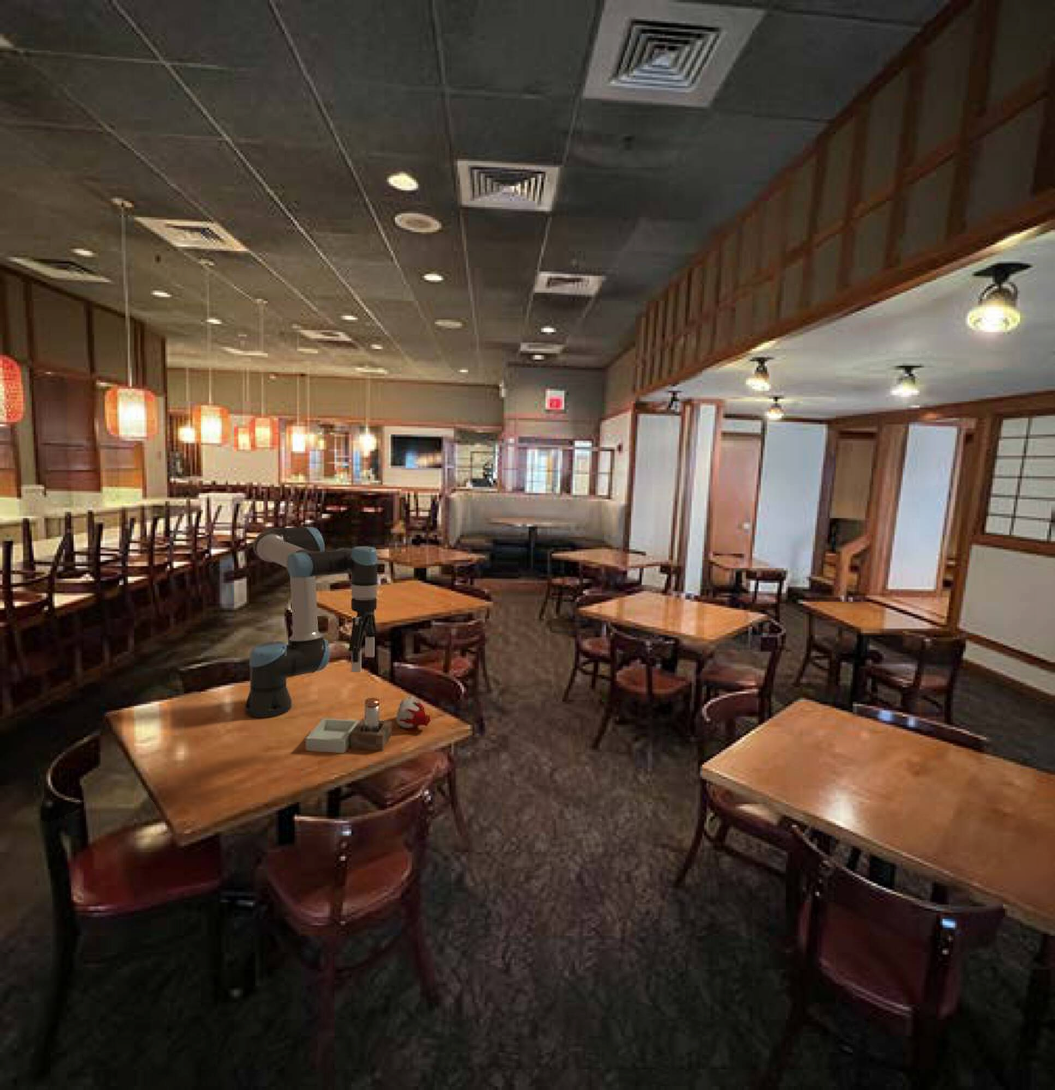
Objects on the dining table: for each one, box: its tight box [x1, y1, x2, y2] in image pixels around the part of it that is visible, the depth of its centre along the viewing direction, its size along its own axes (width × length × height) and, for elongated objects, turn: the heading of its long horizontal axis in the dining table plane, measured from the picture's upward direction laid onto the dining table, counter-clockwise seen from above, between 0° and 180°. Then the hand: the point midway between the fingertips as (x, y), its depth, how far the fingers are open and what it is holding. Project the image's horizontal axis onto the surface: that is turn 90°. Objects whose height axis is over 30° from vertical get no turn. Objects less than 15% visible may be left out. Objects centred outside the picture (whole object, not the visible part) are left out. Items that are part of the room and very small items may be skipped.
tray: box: [305, 717, 361, 754], centre depth 177 cm, size 14×12×4 cm
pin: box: [364, 697, 380, 732], centre depth 177 cm, size 4×4×14 cm
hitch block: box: [350, 718, 392, 752], centre depth 177 cm, size 10×10×5 cm
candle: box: [396, 695, 431, 730], centre depth 190 cm, size 9×11×15 cm
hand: (363, 663), depth 171 cm, fingers open, 13 cm apart
